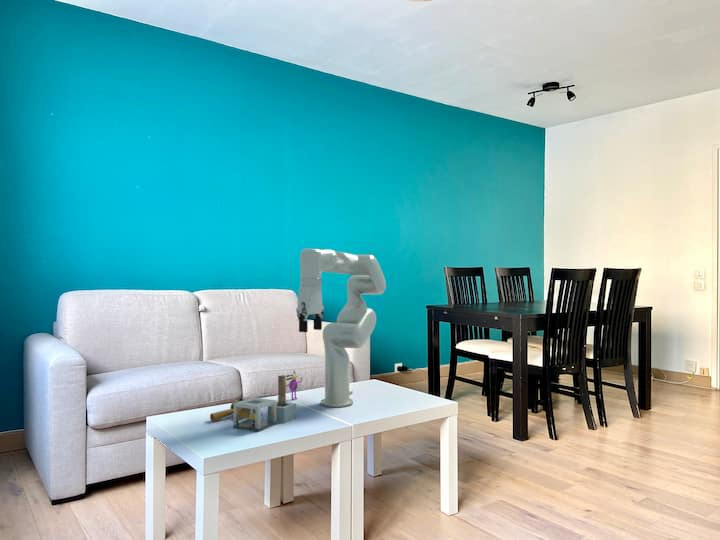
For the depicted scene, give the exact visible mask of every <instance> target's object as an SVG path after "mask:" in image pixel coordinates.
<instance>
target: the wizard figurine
mask: <svg viewBox="0 0 720 540" xmlns="http://www.w3.org/2000/svg"><path fill="white" fill-rule="evenodd" d="M297 374H298V372H296V371H295V369H294V370H293V373H291V374H288V375H285V376H286V381H289V380H290V382H289V383H288V384H286V388H287V387H289V390H290V391H291V400H292V401H294V400H297V399H298V397H297V389H298V388H299V387H298V386H299V383H302V382H303V377H302V376H301V377H300V380H299V381H297V378H298V376H297Z"/></svg>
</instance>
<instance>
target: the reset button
mask: <svg viewBox="0 0 720 540" xmlns="http://www.w3.org/2000/svg"><path fill="white" fill-rule="evenodd" d="M248 419H250V420H252V422H255V414H251V415H249V416H248Z"/></svg>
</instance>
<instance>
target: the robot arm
mask: <svg viewBox="0 0 720 540" xmlns="http://www.w3.org/2000/svg"><path fill="white" fill-rule="evenodd" d="M299 262H300V265H299V267H300V275H299V276H300V278H299V279H300V284H299V289H298V296H297V307H296V308H295V311H296V316H297V320H298V332H299V333H308V325H309V324H308V323H309V322H308V317H309V316H313V330H315V331H316V330H317V331H321V330H322V341H323V347H324V359H325V360H324V398H322V399H321V400H320V404H321V405H322V406H325V407H329V408H342V407H348V406H352V405H353V404H354V400H353V399H352V398H350V396H351V395H353V393H354V392H353V390H352V389H350V357H349V354H348V352H347V350H346V349H361V348H363V347H364V346H365V344H366V343H367V341H368V340H369V338H370V336H371V335H372V333H373V331H374V329H375V327H376V324H377V314H376V312H375V311H374V310H373V309H372V308H369V307H367V303H366V301H365V299H364V298H363V297H362V295H371V296H372V295H373V296H375V295H376V296H378V295H382V294H384V292H385V291H386V288H387V285H386V284H387V282H386V279H385V276H384V273H383V271H382V269H381V266H380V263H379V261H378V260H377V258H376V257H375V256H374V255H373V254H353V253H348V252H343V251H335V250H332V249H329V248H327V249H326V248H324V249H322V248H321V249H318V248H304V249H302V250H301V251H300V256H299ZM322 272H326V273H334V274H341V275H342V274H343V275H350V277H349V278H348V280H347V283H346V289H347V302H346V303H345V305H344V306H343V308H342V309H341V310H340V312H339V313H338V314H337V318H336V322H329V323H327V324H326V325H325V326H324V328H323V329H322V325H323V324H322V323H323V315H324V310H325V306H324V304H323V294H322Z"/></svg>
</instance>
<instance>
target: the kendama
mask: <svg viewBox="0 0 720 540" xmlns="http://www.w3.org/2000/svg"><path fill="white" fill-rule="evenodd" d="M249 398H250V397H248V398H247V399H249ZM240 401H241V400H234V401H232V402H231V404H230V408H229V409H223V410H221V411H216V412H213V413H212V412H211V413H210V415H209V416H210V417H209V418H210V421H211V422H212V423H215V422H217V421H220V420H223V419H224V418H227V417H229V416H232V415H234V403H236V402H240ZM255 404H257V403H255ZM249 415H250V409H248V408H241V407H239V419H243V420H244V419H248V418H249Z"/></svg>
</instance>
